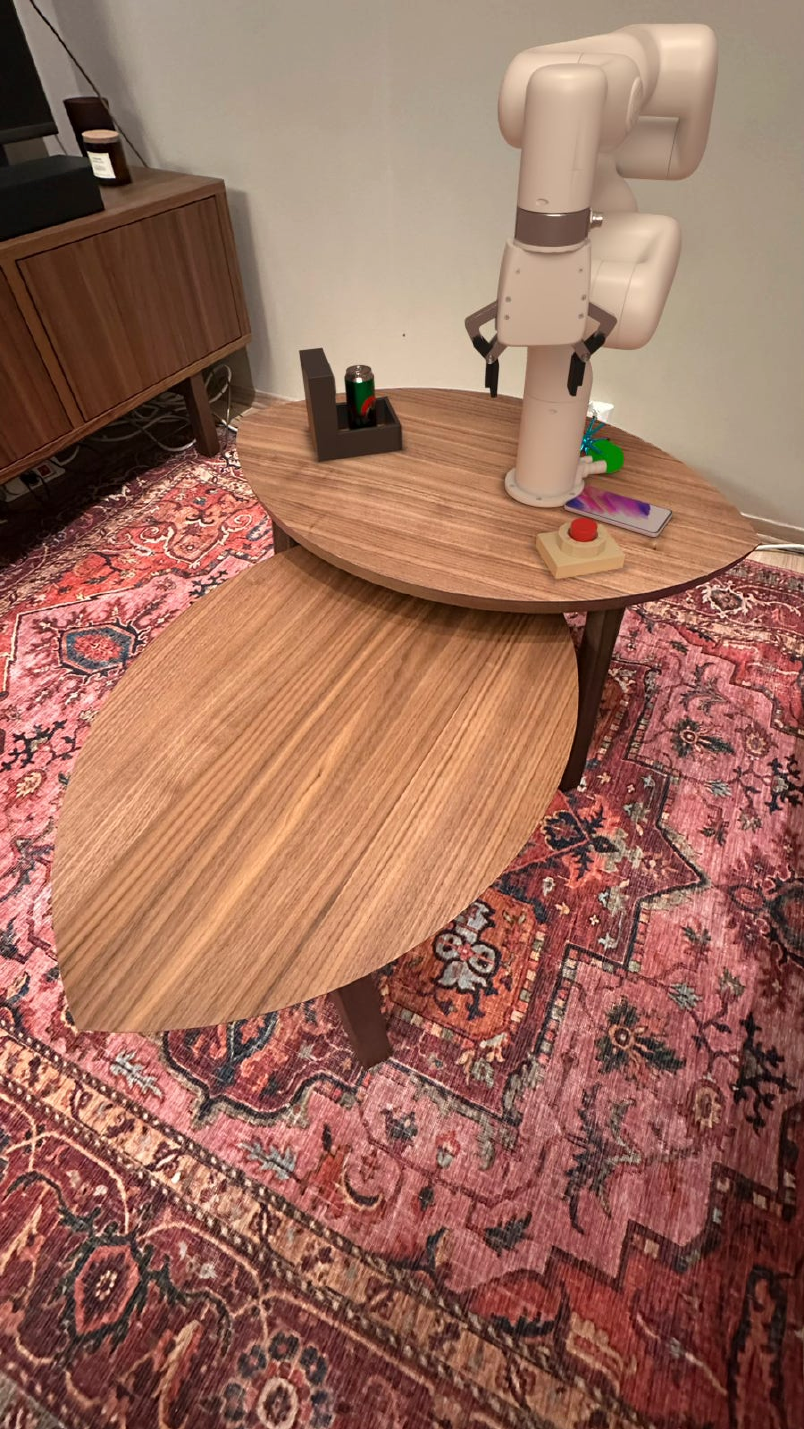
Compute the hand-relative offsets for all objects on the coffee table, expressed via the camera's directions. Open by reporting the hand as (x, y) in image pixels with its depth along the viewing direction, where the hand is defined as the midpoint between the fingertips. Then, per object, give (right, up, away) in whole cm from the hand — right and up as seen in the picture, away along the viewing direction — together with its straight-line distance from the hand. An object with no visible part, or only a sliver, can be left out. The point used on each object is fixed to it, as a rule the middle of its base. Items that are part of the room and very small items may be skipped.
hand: (532, 392), depth 84 cm
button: (+9, -15, +11) cm, 20 cm away
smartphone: (+17, -9, +20) cm, 28 cm away
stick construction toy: (+16, +3, +31) cm, 35 cm away
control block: (+9, -17, +13) cm, 24 cm away
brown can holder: (-24, +9, +38) cm, 46 cm away
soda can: (-23, +9, +38) cm, 46 cm away
